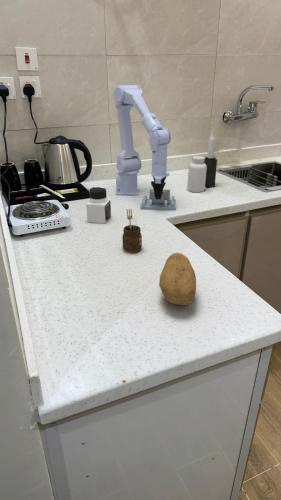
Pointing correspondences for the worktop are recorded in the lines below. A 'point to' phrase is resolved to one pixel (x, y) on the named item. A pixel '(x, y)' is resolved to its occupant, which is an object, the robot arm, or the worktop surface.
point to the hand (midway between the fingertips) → (158, 196)
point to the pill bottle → (197, 174)
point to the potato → (178, 280)
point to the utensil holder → (132, 236)
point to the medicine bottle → (98, 206)
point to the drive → (164, 197)
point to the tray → (148, 205)
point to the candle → (210, 163)
